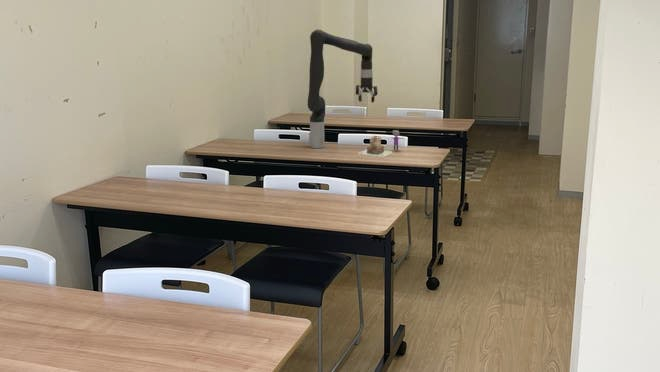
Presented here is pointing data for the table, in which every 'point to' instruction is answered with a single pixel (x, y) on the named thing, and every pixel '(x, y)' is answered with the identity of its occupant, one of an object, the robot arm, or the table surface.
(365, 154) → the build plate
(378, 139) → the top brick
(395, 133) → the toy
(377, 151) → the base brick
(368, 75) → the robot arm
